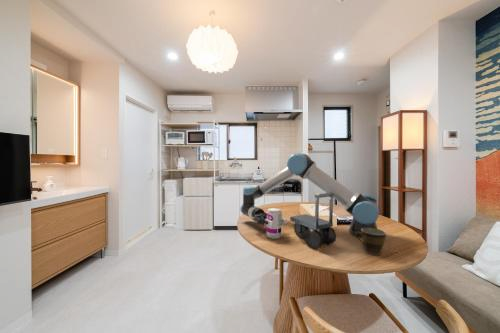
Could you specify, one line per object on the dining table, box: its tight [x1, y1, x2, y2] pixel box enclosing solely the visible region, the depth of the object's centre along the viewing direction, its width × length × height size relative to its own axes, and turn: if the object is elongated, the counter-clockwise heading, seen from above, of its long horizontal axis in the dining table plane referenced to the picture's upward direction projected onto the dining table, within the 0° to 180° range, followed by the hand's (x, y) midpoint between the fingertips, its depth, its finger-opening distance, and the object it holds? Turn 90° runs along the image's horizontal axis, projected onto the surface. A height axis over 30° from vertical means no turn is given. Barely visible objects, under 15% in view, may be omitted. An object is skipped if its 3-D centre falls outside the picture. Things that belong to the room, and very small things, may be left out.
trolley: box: [289, 192, 337, 250], centre depth 111 cm, size 22×12×26 cm, turn 31°
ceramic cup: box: [354, 228, 387, 256], centre depth 99 cm, size 13×10×10 cm
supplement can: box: [265, 207, 283, 240], centre depth 118 cm, size 8×8×15 cm
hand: (279, 223), depth 114 cm, fingers closed on supplement can, 8 cm apart
